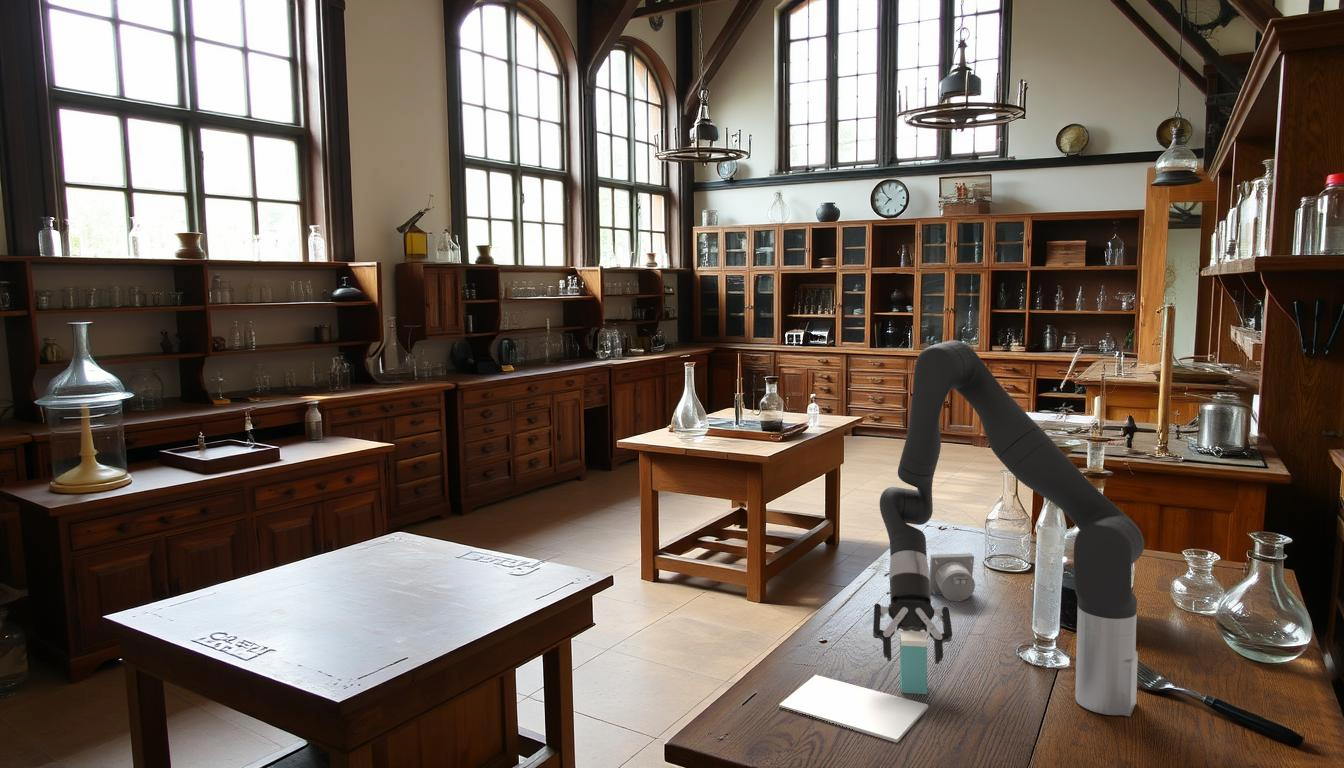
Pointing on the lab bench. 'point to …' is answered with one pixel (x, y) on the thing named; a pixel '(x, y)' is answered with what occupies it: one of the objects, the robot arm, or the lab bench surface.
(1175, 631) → the lab bench surface
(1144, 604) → the lab bench surface
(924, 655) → the teal block
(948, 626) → the robot arm
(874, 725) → the white board
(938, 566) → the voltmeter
